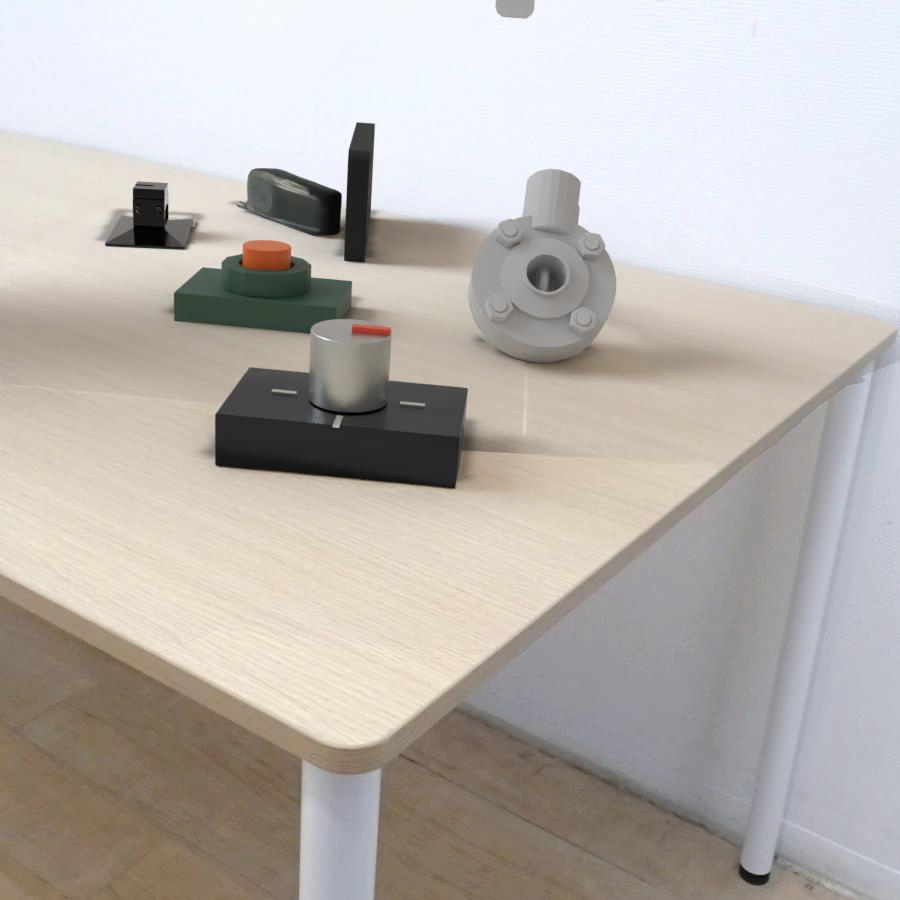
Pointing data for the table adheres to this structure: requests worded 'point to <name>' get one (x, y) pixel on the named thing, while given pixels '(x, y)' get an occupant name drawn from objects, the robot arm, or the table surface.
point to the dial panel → (342, 431)
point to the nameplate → (359, 191)
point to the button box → (262, 297)
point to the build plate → (150, 221)
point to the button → (266, 255)
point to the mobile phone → (293, 201)
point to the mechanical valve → (543, 276)
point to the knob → (349, 365)
